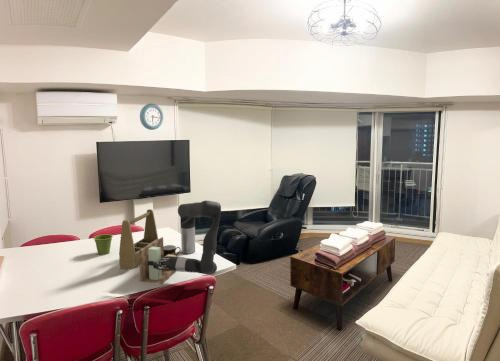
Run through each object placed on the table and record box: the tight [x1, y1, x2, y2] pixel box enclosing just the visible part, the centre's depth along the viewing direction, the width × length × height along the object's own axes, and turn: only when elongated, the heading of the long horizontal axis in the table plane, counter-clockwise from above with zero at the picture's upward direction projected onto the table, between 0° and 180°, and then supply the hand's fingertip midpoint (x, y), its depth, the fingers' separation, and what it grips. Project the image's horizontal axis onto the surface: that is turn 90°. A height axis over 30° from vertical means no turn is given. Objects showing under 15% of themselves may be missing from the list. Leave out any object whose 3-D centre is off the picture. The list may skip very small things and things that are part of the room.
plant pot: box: [93, 233, 114, 256], centre depth 216 cm, size 12×12×11 cm
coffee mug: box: [163, 244, 182, 257], centre depth 200 cm, size 12×9×10 cm
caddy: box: [118, 209, 159, 270], centre depth 202 cm, size 29×11×30 cm, turn 168°
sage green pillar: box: [148, 247, 162, 280], centre depth 175 cm, size 4×5×17 cm
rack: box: [139, 236, 177, 284], centre depth 181 cm, size 24×13×18 cm, turn 167°
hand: (150, 261), depth 175 cm, fingers closed on sage green pillar, 4 cm apart
